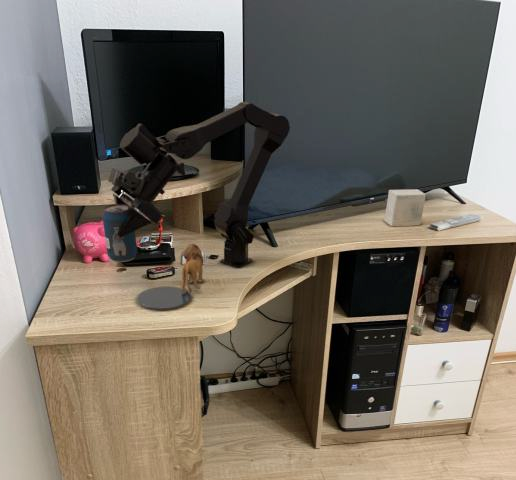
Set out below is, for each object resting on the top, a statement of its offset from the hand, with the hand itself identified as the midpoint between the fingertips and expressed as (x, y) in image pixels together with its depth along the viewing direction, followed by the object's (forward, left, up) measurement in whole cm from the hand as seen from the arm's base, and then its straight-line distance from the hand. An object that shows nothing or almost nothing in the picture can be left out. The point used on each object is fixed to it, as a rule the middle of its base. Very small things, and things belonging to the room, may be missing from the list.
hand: (113, 231), depth 125 cm
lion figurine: (-10, +14, -13) cm, 22 cm away
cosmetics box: (-93, +32, -13) cm, 99 cm away
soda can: (-1, +1, -7) cm, 7 cm away
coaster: (-1, +14, -13) cm, 19 cm away
